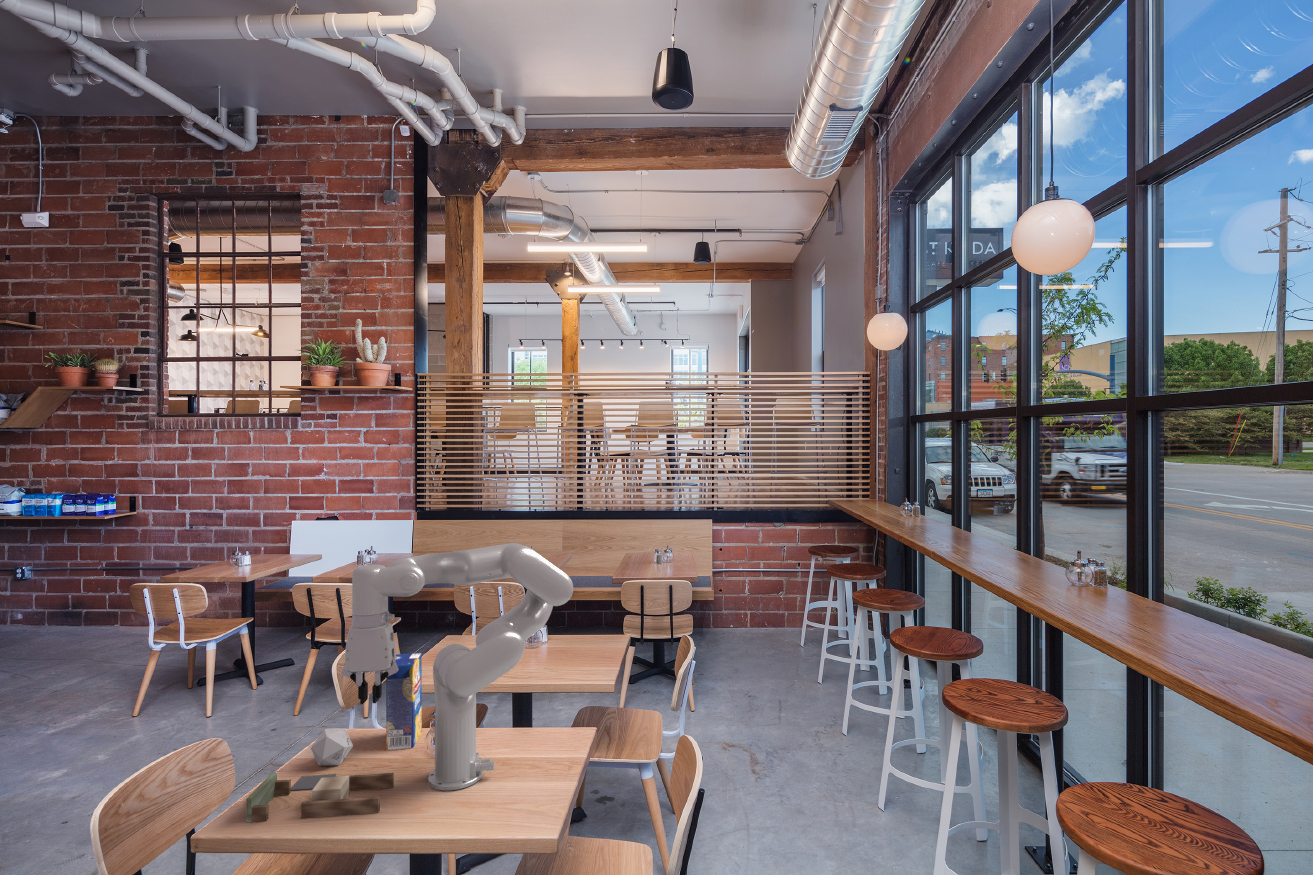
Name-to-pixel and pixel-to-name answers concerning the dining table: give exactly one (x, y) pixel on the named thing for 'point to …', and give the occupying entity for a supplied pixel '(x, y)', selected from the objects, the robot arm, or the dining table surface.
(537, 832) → the dining table surface
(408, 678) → the beverage box
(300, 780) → the mat
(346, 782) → the oak block
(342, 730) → the die
